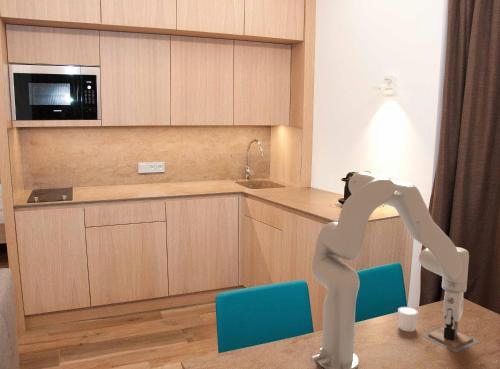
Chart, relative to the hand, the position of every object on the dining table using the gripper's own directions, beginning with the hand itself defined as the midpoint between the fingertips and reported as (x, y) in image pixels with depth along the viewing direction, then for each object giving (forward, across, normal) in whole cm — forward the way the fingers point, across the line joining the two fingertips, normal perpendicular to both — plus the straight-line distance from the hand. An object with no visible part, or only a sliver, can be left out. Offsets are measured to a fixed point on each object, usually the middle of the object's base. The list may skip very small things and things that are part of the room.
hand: (450, 334), depth 154 cm
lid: (+1, 0, 0) cm, 1 cm away
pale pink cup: (+2, 0, +14) cm, 14 cm away
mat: (+2, 0, 0) cm, 2 cm away
